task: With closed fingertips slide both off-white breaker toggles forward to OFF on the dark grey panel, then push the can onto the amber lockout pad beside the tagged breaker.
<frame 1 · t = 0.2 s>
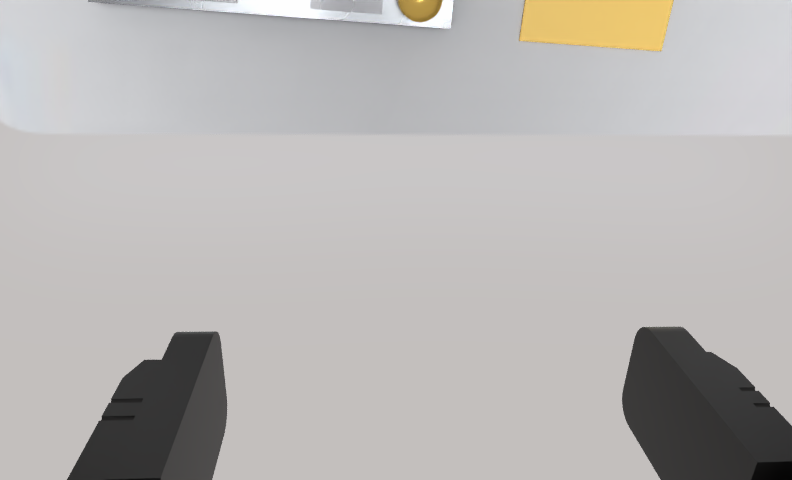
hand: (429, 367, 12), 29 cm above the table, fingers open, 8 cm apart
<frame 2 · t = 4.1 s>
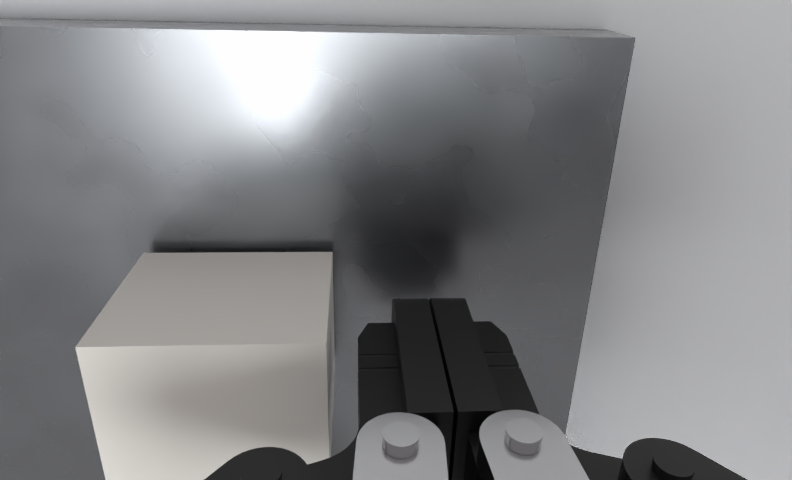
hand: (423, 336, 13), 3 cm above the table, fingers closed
breaker 1: (230, 358, 12), point 4 cm above the table, slide at 0.0 cm, touching gripper
panel: (230, 403, 17), on the table
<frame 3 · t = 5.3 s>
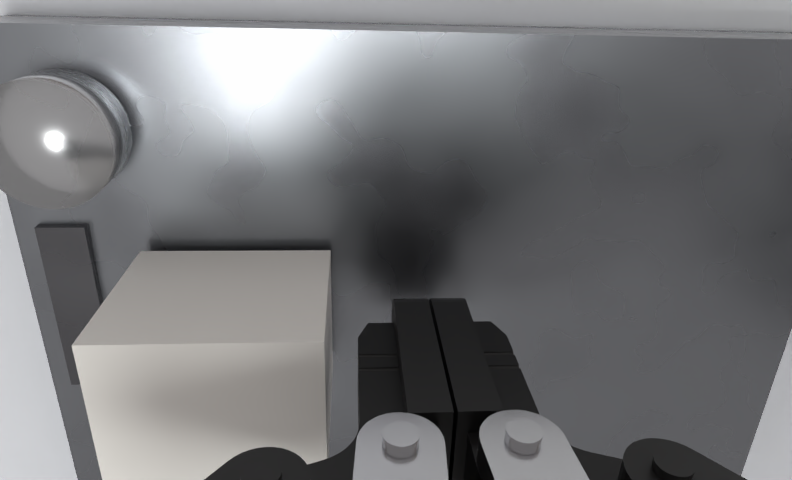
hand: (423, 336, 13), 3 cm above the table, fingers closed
breaker 1: (227, 357, 12), point 4 cm above the table, slide at 5.4 cm, touching gripper
panel: (421, 398, 17), on the table
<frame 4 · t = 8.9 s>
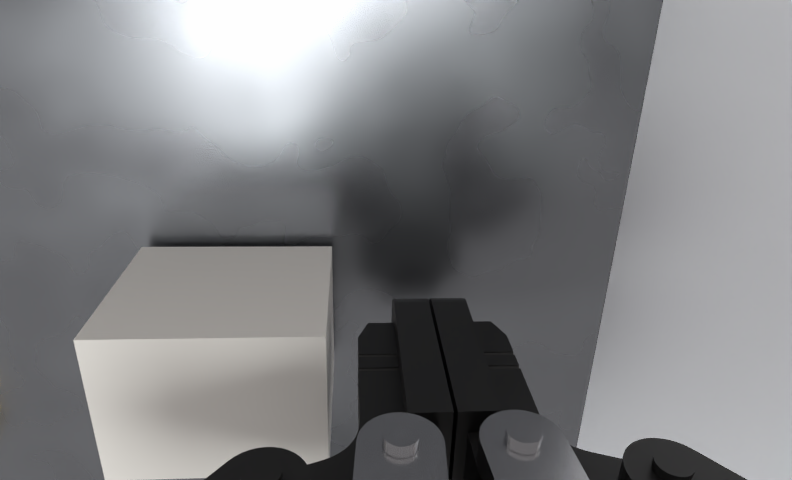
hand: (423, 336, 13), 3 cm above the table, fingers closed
breaker 2: (229, 352, 12), point 4 cm above the table, slide at 0.4 cm, touching gripper
panel: (217, 110, 14), on the table
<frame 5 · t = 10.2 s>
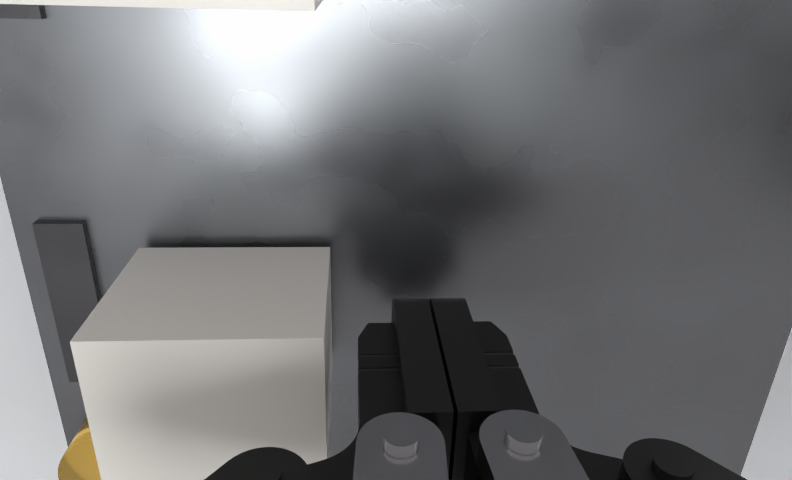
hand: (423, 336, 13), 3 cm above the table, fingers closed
breaker 2: (226, 354, 12), point 4 cm above the table, slide at 5.4 cm, touching gripper
panel: (436, 113, 14), on the table
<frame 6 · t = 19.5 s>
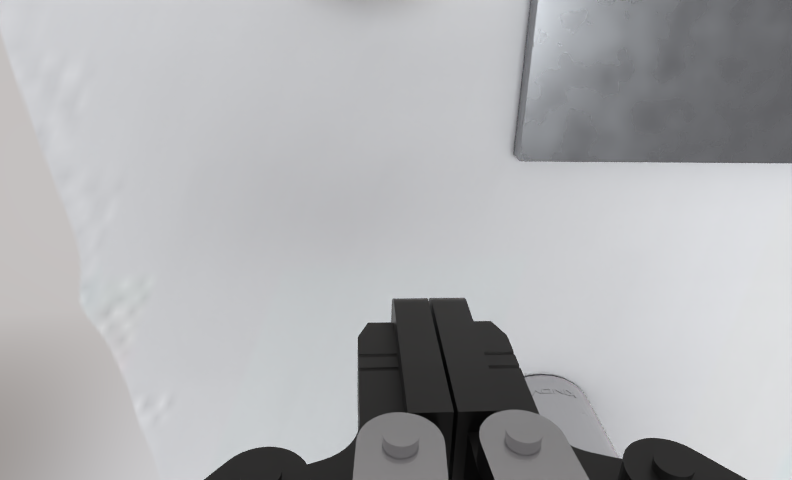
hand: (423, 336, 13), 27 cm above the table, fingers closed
panel: (694, 10, 37), on the table
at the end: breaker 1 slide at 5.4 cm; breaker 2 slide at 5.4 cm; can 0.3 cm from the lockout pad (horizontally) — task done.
